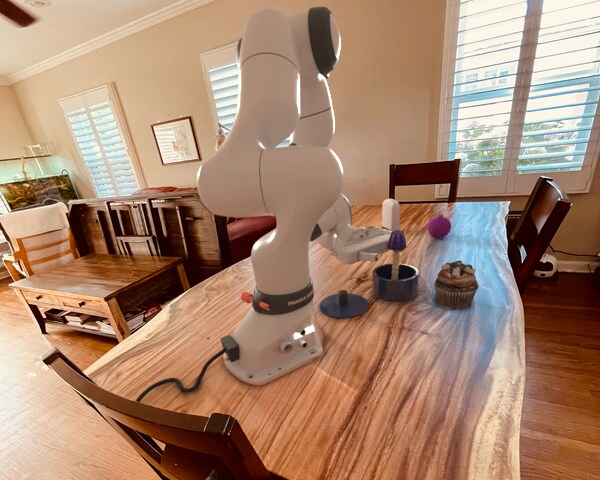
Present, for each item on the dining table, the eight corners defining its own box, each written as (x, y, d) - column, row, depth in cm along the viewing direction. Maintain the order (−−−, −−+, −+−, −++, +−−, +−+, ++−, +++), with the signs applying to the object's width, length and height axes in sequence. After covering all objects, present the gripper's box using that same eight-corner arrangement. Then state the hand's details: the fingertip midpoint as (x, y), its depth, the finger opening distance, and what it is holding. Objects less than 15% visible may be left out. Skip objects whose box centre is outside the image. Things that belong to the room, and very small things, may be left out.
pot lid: (346, 326, 73) (345, 309, 71) (309, 310, 81) (308, 294, 79) (377, 305, 80) (378, 289, 78) (340, 292, 88) (340, 277, 86)
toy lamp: (406, 290, 84) (410, 230, 76) (398, 297, 81) (401, 235, 73) (390, 286, 87) (392, 227, 79) (382, 293, 84) (383, 233, 76)
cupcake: (423, 299, 80) (427, 263, 75) (452, 289, 83) (457, 254, 78) (454, 315, 72) (460, 276, 67) (484, 304, 75) (492, 265, 70)
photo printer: (380, 226, 142) (381, 198, 136) (389, 224, 142) (390, 196, 136) (391, 231, 133) (392, 202, 127) (400, 230, 133) (402, 200, 127)
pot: (401, 308, 77) (403, 285, 74) (364, 296, 85) (364, 274, 82) (424, 291, 84) (427, 269, 81) (388, 281, 91) (388, 260, 88)
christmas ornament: (444, 233, 124) (447, 208, 119) (453, 239, 116) (457, 212, 112) (423, 235, 124) (425, 210, 119) (431, 242, 117) (434, 215, 112)
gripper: (324, 240, 86) (358, 252, 75) (379, 224, 94) (416, 232, 84) (326, 262, 88) (359, 276, 78) (379, 244, 97) (415, 254, 87)
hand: (389, 253), depth 81 cm, fingers open, 8 cm apart
